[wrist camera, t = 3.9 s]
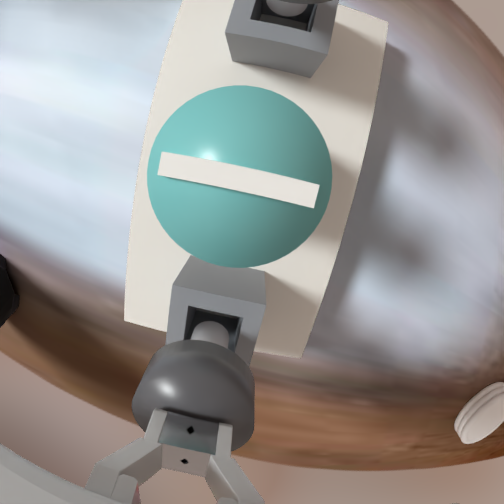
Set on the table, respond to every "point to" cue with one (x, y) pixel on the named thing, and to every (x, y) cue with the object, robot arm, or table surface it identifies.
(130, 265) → the mount panel
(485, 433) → the white jar lid
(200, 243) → the teal dial
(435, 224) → the table surface
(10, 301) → the portable speaker
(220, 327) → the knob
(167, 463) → the robot arm
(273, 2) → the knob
